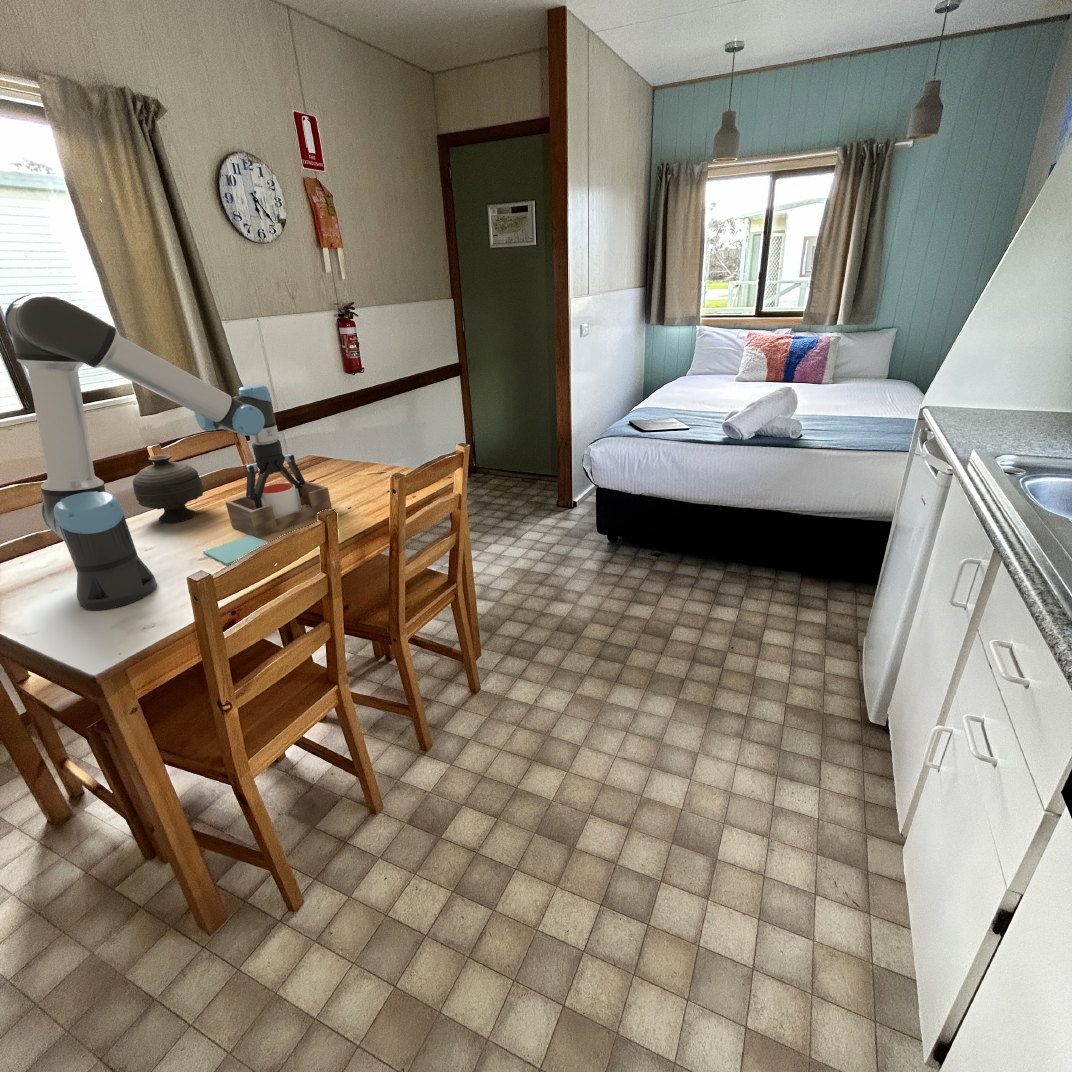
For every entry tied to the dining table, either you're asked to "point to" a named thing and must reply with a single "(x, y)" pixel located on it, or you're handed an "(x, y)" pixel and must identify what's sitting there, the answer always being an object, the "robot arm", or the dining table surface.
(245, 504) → the crate
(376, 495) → the dining table surface
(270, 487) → the cup
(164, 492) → the pot
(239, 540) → the mat
